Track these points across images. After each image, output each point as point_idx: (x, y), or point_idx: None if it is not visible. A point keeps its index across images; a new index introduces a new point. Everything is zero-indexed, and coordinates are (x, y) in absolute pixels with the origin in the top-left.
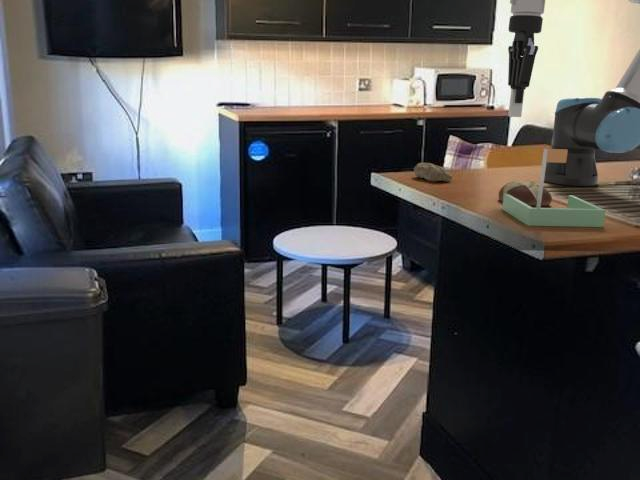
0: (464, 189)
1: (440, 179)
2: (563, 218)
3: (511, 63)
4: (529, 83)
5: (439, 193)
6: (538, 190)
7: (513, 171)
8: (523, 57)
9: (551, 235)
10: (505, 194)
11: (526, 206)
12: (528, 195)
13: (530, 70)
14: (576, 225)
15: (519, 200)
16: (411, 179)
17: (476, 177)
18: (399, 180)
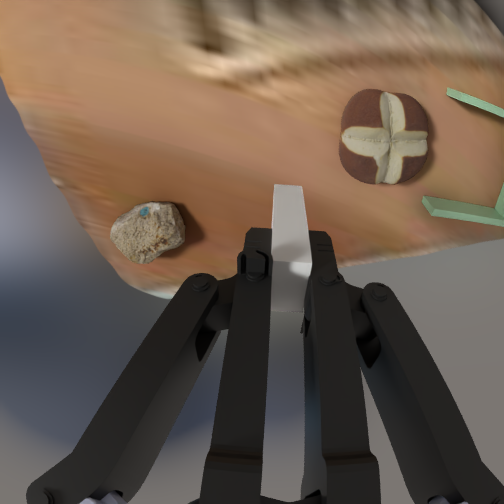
0: (250, 198)
1: (184, 226)
2: None
3: (166, 434)
4: (397, 300)
5: None
6: (420, 135)
7: (24, 46)
8: (411, 478)
9: None
10: (436, 215)
11: (499, 225)
12: (425, 159)
13: (432, 378)
14: None
15: (473, 215)
16: (165, 259)
17: (104, 133)
18: (181, 278)
